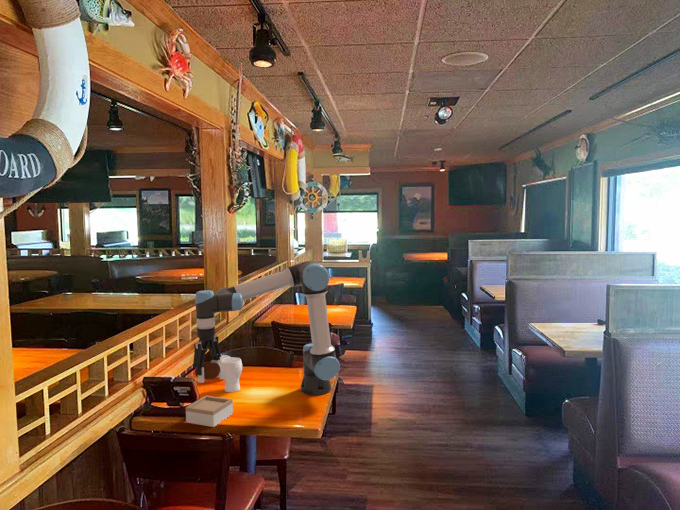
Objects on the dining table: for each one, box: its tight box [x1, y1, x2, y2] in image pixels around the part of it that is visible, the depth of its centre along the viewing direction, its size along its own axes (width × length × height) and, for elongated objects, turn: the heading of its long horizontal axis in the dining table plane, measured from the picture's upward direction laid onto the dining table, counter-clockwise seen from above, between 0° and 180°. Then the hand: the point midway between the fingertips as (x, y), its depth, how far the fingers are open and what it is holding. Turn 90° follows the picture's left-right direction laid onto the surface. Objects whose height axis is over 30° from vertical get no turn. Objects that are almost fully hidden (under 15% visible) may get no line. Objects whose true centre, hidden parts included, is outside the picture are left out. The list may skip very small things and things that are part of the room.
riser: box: [185, 395, 234, 428], centre depth 215 cm, size 14×14×7 cm
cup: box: [220, 356, 243, 393], centre depth 248 cm, size 11×11×15 cm
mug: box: [217, 354, 232, 381], centre depth 264 cm, size 12×8×11 cm
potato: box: [194, 361, 220, 381], centre depth 213 cm, size 8×11×8 cm
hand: (208, 378), depth 214 cm, fingers closed on potato, 9 cm apart
